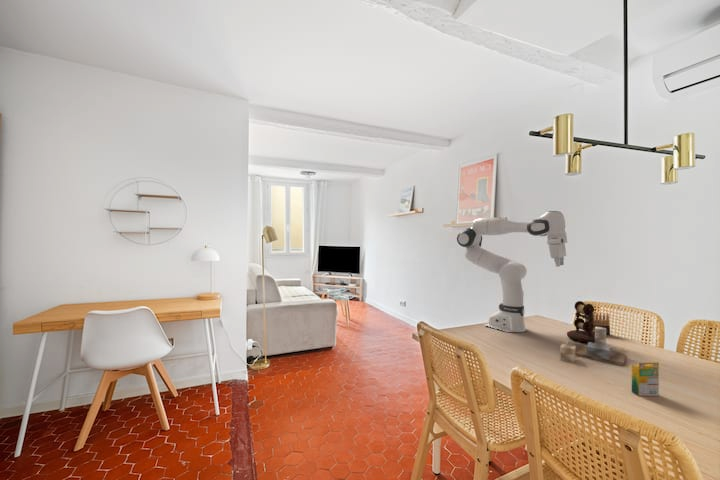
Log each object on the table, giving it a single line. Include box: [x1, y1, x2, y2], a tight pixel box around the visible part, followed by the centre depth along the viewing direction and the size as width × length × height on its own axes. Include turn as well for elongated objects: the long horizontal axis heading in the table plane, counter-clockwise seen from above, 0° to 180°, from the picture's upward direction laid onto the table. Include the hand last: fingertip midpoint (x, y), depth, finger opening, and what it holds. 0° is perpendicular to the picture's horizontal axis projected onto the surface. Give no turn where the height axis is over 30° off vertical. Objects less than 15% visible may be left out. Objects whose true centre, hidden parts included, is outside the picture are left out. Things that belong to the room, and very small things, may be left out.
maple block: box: [559, 343, 577, 364], centre depth 139 cm, size 5×5×6 cm
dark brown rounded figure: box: [566, 300, 595, 344], centre depth 165 cm, size 15×15×20 cm
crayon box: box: [631, 361, 660, 397], centre depth 109 cm, size 7×3×12 cm, turn 92°
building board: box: [566, 327, 626, 367], centre depth 146 cm, size 22×16×11 cm
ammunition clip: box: [592, 312, 611, 336], centre depth 176 cm, size 11×2×12 cm, turn 77°
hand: (559, 265), depth 169 cm, fingers open, 8 cm apart
